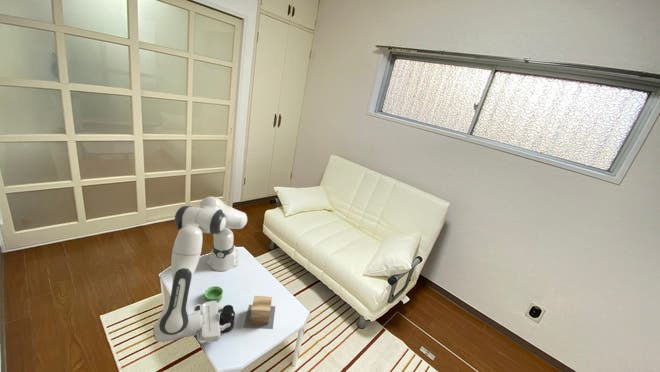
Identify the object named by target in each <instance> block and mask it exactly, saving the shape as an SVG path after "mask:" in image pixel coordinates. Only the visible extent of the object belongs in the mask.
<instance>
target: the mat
mask: <svg viewBox="0 0 660 372" xmlns="http://www.w3.org/2000/svg"><path fill="white" fill-rule="evenodd" d="M251 309H252V304H248V308H247V312H246V316H245V321H244V324H243V328H249V329H262V330H263V329H266V330H267V329H269V330H273V329H274V321H275V313H276V305H271V308H270V315H269V322H268V324H253V323H250V318H251Z"/></svg>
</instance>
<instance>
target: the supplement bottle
mask: <svg viewBox="0 0 660 372" xmlns="http://www.w3.org/2000/svg"><path fill="white" fill-rule="evenodd" d="M222 308H223V309H222V312H220V313H219V325H222V326H223V325H225V324H226V322H230V327H227V328H225V329H224V330H223V331H220V333H225V334H226V333H230V332H232V330H233V329H234V328H235V320H236V312H235V310H234V307H233V305H231V304H226V305H224V306H223V307H222Z"/></svg>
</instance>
